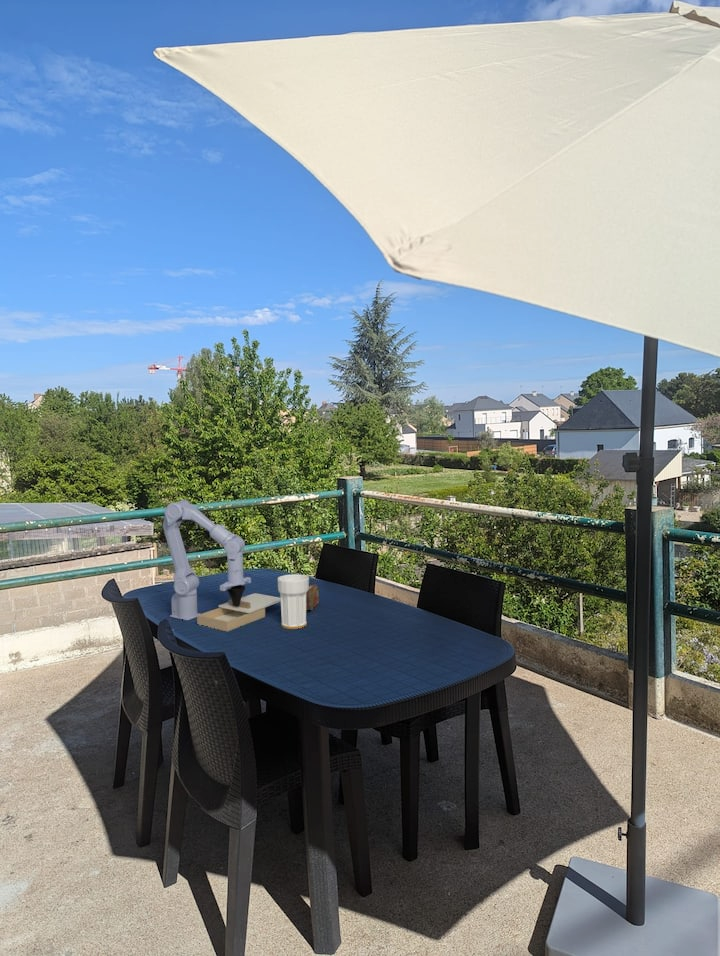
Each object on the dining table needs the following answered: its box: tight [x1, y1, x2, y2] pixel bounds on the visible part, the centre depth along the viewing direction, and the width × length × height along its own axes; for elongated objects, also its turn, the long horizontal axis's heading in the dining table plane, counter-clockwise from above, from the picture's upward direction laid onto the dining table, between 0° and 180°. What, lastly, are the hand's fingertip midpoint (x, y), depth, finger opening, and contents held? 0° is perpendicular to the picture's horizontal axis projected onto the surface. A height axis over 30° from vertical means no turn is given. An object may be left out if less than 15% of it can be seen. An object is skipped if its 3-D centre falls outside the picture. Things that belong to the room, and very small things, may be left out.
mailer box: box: [196, 607, 266, 632], centre depth 243 cm, size 15×20×4 cm
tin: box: [306, 583, 320, 612], centre depth 259 cm, size 15×3×8 cm, turn 168°
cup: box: [277, 573, 310, 630], centre depth 237 cm, size 11×11×17 cm
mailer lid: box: [217, 592, 281, 613], centre depth 252 cm, size 16×20×3 cm
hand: (236, 605), depth 245 cm, fingers closed
